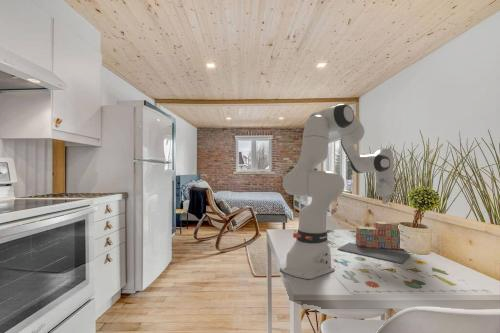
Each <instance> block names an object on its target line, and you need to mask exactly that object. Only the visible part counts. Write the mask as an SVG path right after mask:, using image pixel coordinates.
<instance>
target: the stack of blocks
mask: <svg viewBox="0 0 500 333" xmlns="http://www.w3.org/2000/svg"><path fill="white" fill-rule="evenodd" d="M399 224H401V225H404V224H403V223H400V222H392V221H391V222H390V221H373V226H372V227H370V226H357V225H356V226H355V244H357V245H358V246H360V247H373V248H380V249H387V250H391V249H392V250H394V249H395V250H401V249H400V231H399V229H398V225H399Z"/></svg>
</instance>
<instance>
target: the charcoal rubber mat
mask: <svg viewBox="0 0 500 333" xmlns="http://www.w3.org/2000/svg"><path fill="white" fill-rule="evenodd" d="M336 250H337V251H341V252H346V253H351V254H356V255H359V256H364V257H369V258H374V259H377V260H382V261H387V262H392V263H395V264H400V265H403V264H404V263H405V262H406V261H407V259H408V258H409V257H410V256H411V254H410V253H406V252H405V253H404V252H400V251H395V250H391V249H386V248H373V247H360V246H358V245H357V244H356V243H353V242H348V243H345V244H344V245H342V246H340V247H338V248H337V249H336Z"/></svg>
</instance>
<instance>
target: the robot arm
mask: <svg viewBox="0 0 500 333" xmlns="http://www.w3.org/2000/svg"><path fill="white" fill-rule="evenodd" d="M331 132H332V133H334V132H337V133H338V134H339V136H340V145H341V147H342V150H343V151H344V153H345V155H346V157H347V159H348V161H349V163H350V164H349V165H350V167H351V169H352V171H353V172H355V173H357V174H363V173H369V174H370V173H375V182H376V184H375V196H376V197H381V200H382V202H381V203H382V204H384V205H386V204H387V205H388V200H389V195H393V194H394V190H395V189H394V188H395V181H396V178H395V173H394V172H395V171H394V165H395V164H394V163H395V161H394V154H393V151H392V149H390V148H383V147H382V148H378V149H376V151H375V152H374V153H373V154H359V152H358V151H357V149H356V147H355V145H357V144H358V143H359V142H361V140H362V139H363V138H364V136H365V128H364V125H363V124H362V122H361V121H360V120H359V118H358V117H357V116H356V114H355V112H354V110H353V109H352V107H351V106H350V105H348V104H347V103H340V104H337V105H335V106H330V107H326V108H324V109H321V110H319V111H316V112H314V113H312V114H311V115H310V116H309V117H308V118H307V119H306V121H305V124H304V128H303V134H302V140H301V141H302V142H301V150H300V156H299V159H298V161H297V162H296V164H295V166H294V167H293V168H292V169H291V170H289V171H288V172H287V173H286V174H285V176H284V177H283V181H282V187H283V190H284V191H285V192H286V193H287V194H288V195H292V196H295V197H305V198H306V197H307V198H311V202H310V204H307V205H305V206H303V207H302V208H301V209H300V210H299V212H298V229H297V232H293V234H292V237H293V238H294V239H296V241H295V242H294V243H293V245H292V246H291V247H290V248H289V251H288V252H287V253H286V262H285V263H283V264H281V265H280V267H279V269H280V271H281V272H283V273H285V274H287V275H289V276H292V277H296V278H298V279H299V278H300V279H306V280H312V279H315V278H317V277H320V276H323V275H327V274H329V273H332V272H334V271H335V266H334V265H332V254H331V252H332V251H331V247H330V246H329V244H328V242H327V241H328V231H327V215H328V211H329V208H330V206H331V204H332V203H333V202H334V201H335V200H336V199H337V198H339V197H341V195H342V194H343V192H344V190H345V186H346V185H345V180H344V177H343V176H342V175H341V174H340V173H339V172H335V171H330V170H315V168H316V167H317V166H318V165H321V164H322V163H323V162H325V161H326V159H327V158H328V155H329V154H328V153H329V142H330V141H329V139H330V135H329V134H330V133H331Z"/></svg>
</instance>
